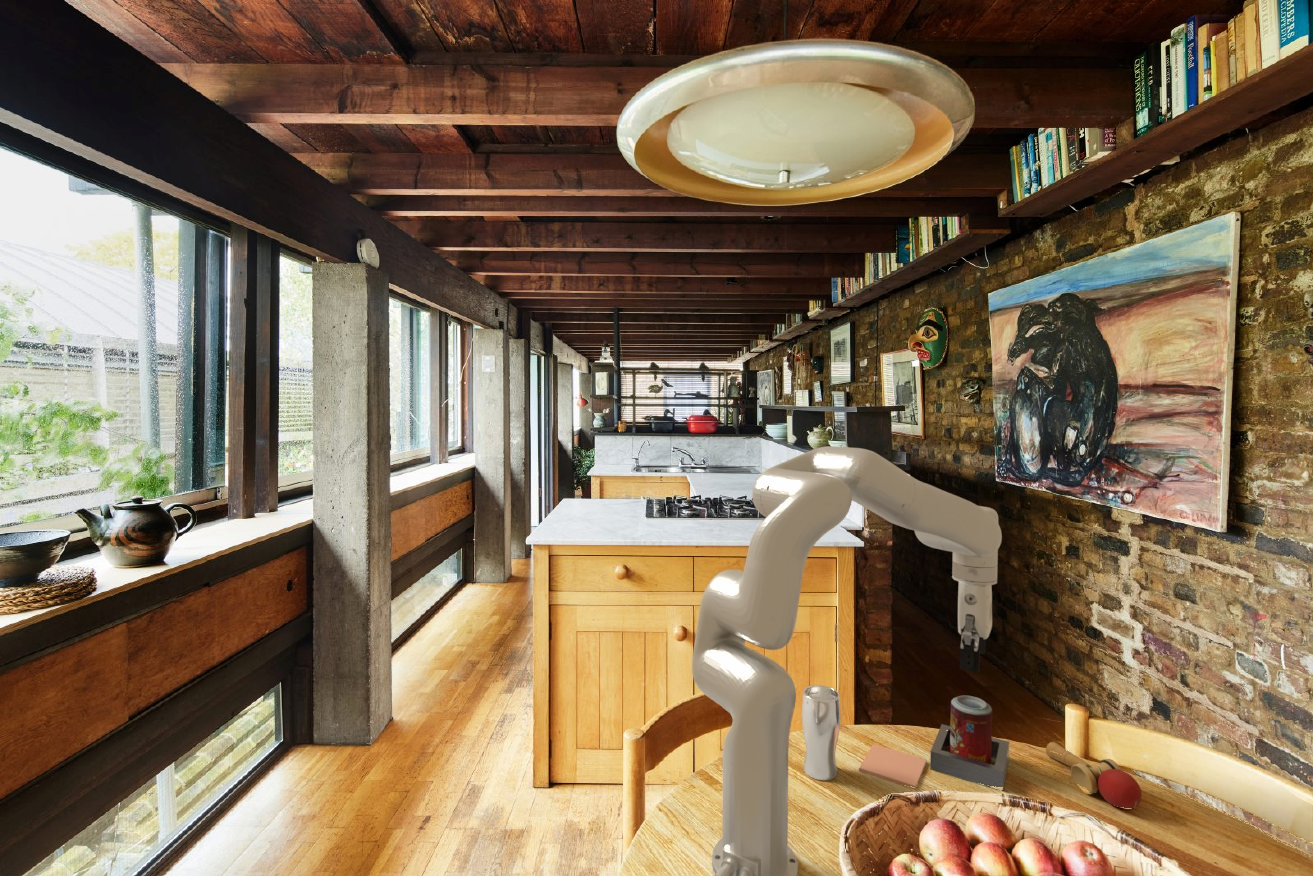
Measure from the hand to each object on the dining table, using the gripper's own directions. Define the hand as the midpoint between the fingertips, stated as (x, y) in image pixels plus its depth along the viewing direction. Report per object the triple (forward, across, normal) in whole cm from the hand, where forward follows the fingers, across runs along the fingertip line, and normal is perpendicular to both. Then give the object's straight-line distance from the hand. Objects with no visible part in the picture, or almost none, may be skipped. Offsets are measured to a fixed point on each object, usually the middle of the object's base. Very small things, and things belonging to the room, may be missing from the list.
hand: (972, 661), depth 117 cm
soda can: (+20, 0, 0) cm, 20 cm away
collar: (+20, 0, 0) cm, 20 cm away
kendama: (+20, +5, -19) cm, 28 cm away
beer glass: (+20, -18, +23) cm, 36 cm away
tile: (+20, -9, +12) cm, 25 cm away
